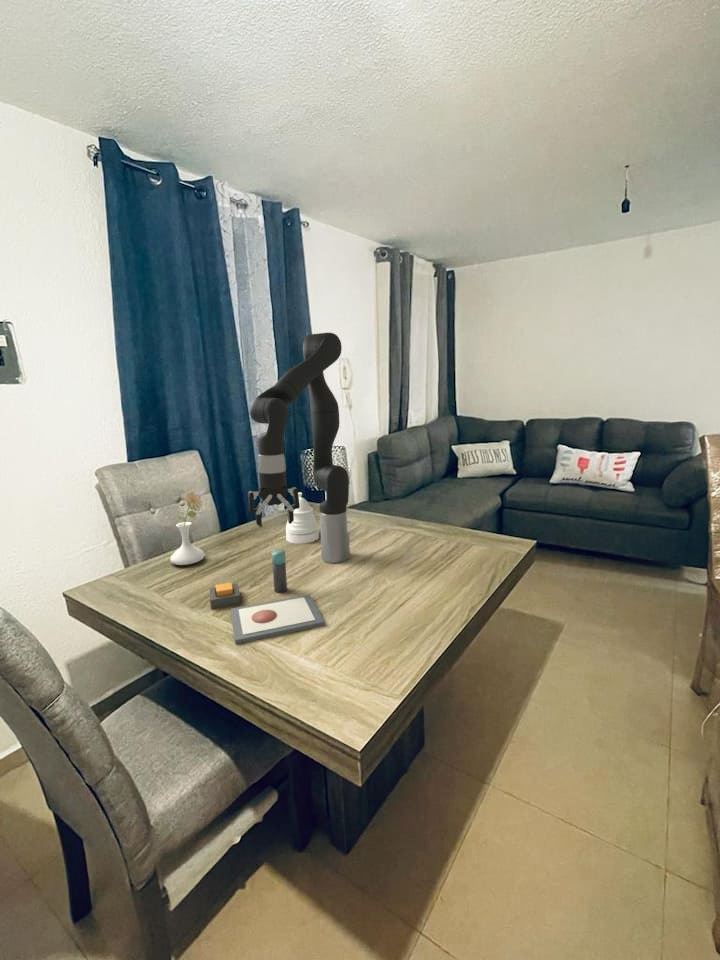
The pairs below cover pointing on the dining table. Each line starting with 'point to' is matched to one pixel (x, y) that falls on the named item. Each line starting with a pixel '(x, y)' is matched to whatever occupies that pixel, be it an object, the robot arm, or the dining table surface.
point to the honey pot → (302, 524)
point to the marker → (279, 571)
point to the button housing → (225, 597)
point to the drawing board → (275, 618)
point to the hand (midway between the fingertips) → (275, 524)
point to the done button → (224, 589)
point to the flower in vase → (187, 550)
